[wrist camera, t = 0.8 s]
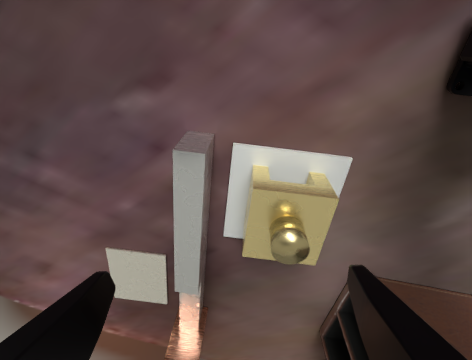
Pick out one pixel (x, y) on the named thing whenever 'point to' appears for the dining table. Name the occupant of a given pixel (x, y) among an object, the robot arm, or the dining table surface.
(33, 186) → the dining table surface
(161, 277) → the flange rail
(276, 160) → the pad
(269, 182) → the clip saddle
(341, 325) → the letter holder
